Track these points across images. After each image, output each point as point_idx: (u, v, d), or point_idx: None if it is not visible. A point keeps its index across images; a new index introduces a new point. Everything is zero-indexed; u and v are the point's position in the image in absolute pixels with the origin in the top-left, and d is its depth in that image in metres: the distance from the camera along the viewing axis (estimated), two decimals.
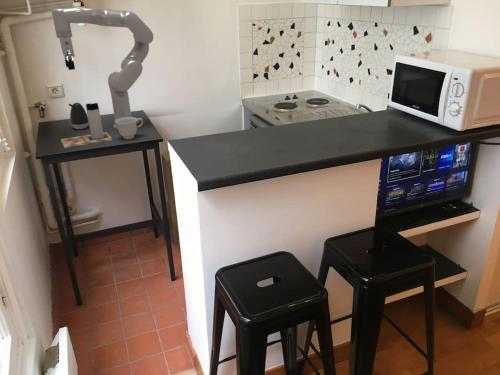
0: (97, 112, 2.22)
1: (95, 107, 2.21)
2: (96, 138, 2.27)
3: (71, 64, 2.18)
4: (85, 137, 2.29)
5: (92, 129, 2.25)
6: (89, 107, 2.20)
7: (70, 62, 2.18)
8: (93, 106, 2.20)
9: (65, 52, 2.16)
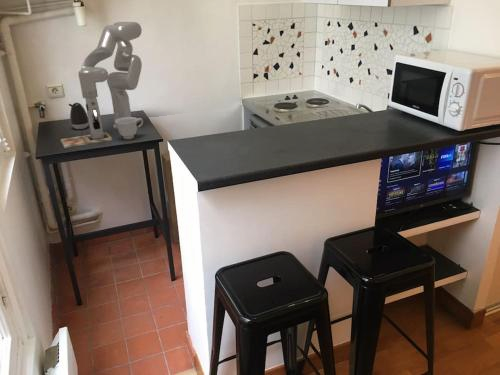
0: None
1: None
2: (96, 138, 2.27)
3: (97, 124, 2.22)
4: (85, 137, 2.29)
5: (92, 129, 2.25)
6: None
7: (96, 122, 2.22)
8: None
9: (91, 112, 2.18)
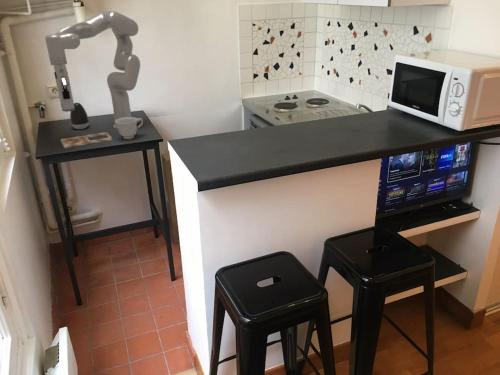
0: None
1: None
2: (66, 109, 2.14)
3: (66, 93, 2.10)
4: (85, 137, 2.29)
5: (61, 99, 2.12)
6: None
7: (65, 91, 2.09)
8: None
9: (60, 80, 2.06)
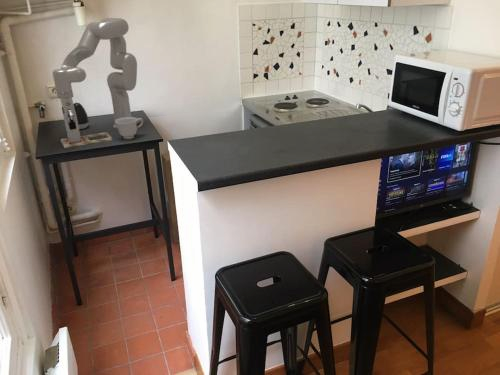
0: None
1: None
2: (73, 142, 2.21)
3: (72, 124, 2.15)
4: (85, 137, 2.29)
5: (69, 133, 2.19)
6: None
7: (71, 122, 2.14)
8: None
9: (66, 113, 2.13)
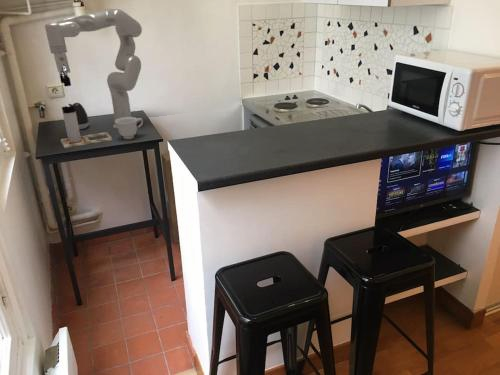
0: (74, 115, 2.17)
1: (71, 110, 2.15)
2: (73, 142, 2.21)
3: (67, 80, 2.09)
4: (85, 137, 2.29)
5: (69, 133, 2.19)
6: (65, 110, 2.14)
7: (66, 78, 2.08)
8: (69, 109, 2.14)
9: (60, 68, 2.06)
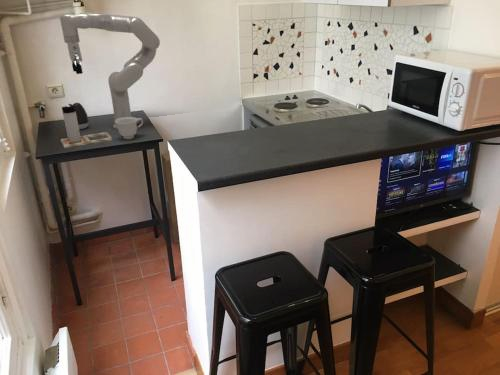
0: (73, 115, 2.17)
1: (71, 110, 2.15)
2: (73, 142, 2.21)
3: (79, 68, 2.24)
4: (85, 137, 2.29)
5: (69, 133, 2.19)
6: (65, 110, 2.14)
7: (78, 66, 2.23)
8: (69, 109, 2.14)
9: (73, 57, 2.21)
